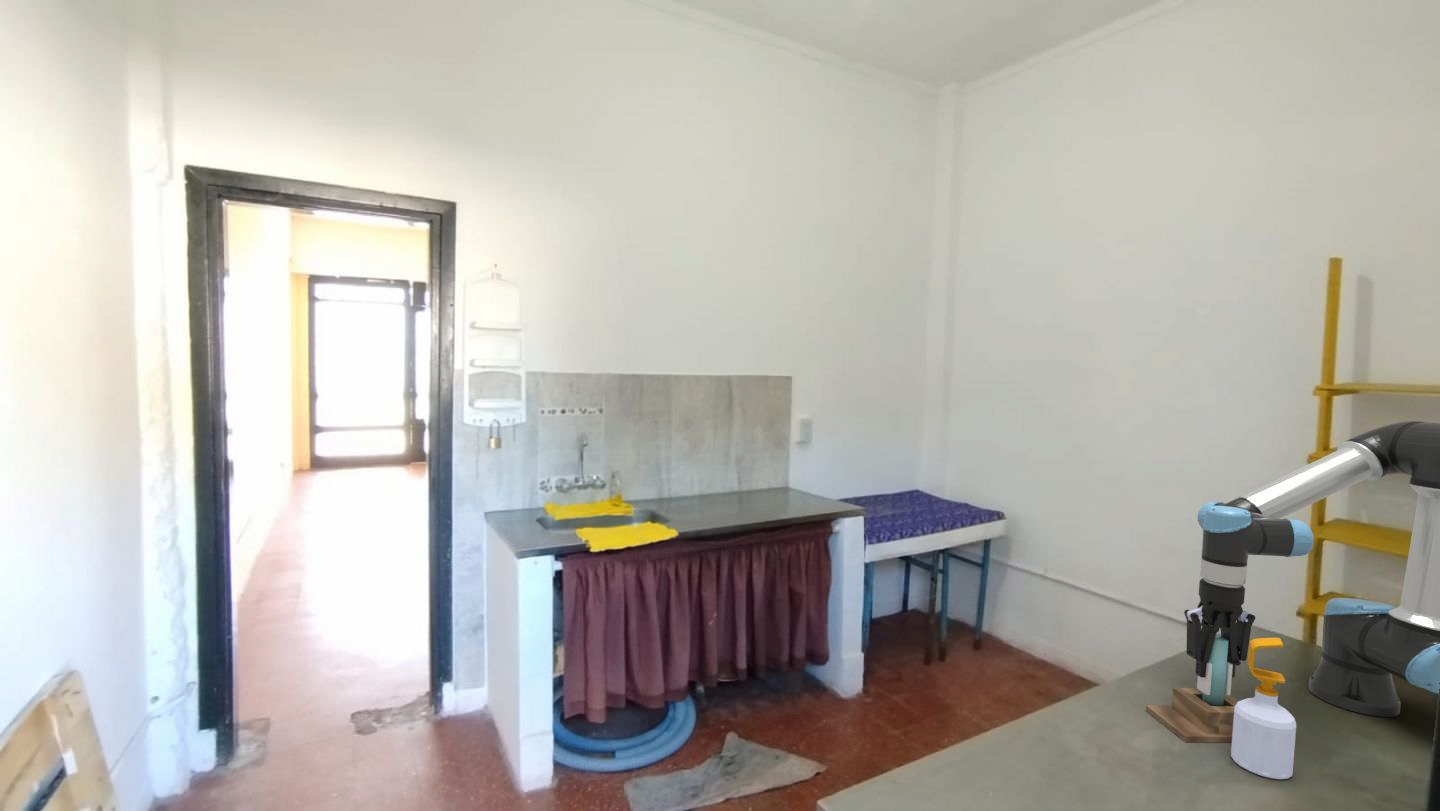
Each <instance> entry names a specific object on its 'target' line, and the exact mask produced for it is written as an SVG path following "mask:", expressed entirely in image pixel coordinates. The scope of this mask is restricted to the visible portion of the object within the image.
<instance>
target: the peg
mask: <svg viewBox="0 0 1440 811" xmlns="http://www.w3.org/2000/svg"><path fill="white" fill-rule="evenodd" d="M1228 642H1229V640H1228V639H1226V638H1224V637H1221V635H1217V634H1216V636H1215V640H1214V644H1213V647H1212V651H1211V655H1210V659H1209V662H1210V663H1211V664H1213V665H1212V678H1211V691H1210V695H1206V694H1205V693H1202V700H1203V701H1204V702H1206V703H1207V704H1209V705H1210V706H1223V704H1224V692H1225V679H1226V667H1227V654H1228Z"/></svg>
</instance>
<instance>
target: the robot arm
mask: <svg viewBox="0 0 1440 811" xmlns="http://www.w3.org/2000/svg"><path fill="white" fill-rule="evenodd" d="M1390 475H1391V476H1392V475H1407V476H1410V480H1409V486H1410V487H1411V488H1412V489H1413V490H1414V491H1415V493H1417V495H1418V496H1417V502H1416V508H1415V514H1414V521H1413V526H1412V533H1411V539H1410V543H1409V544H1410V545H1409V550H1408V556H1407V563H1406V568H1405V573H1404V579H1403V580H1404V581H1403V586H1402V592H1401V597H1400V598H1401V599H1400V604H1399V606H1397V607H1395V605H1391V604H1388V603H1384V602H1381V601H1380V602H1379V601H1374V600H1370V599H1369V600H1368V599H1361V598H1360V599H1359V598H1351V597H1335V598H1334V597H1333V598H1331V599H1329V600H1327V602H1326V605H1325V610H1324V613H1323V626H1322V627H1323V628H1322V645H1321V657H1320V660H1319V662H1318V663H1317V665H1316V667H1315V669H1314V671H1313V674H1312V675H1310V677H1309V680H1308V681H1309V682H1308V691H1309V692H1310V693H1311V694H1312V695H1314V696H1315V697H1317V698H1318V699H1320V700H1322V701H1324V702H1326V703H1328V704H1331V705H1333V706H1336V707H1337V708H1338V707H1339V708H1341V709H1345V710H1348V711H1350V712H1355V713H1359V714H1363V715H1367V716H1374V717H1380V718H1381V717H1384V718H1387V717H1388V718H1390V717H1397V716H1399V715H1400V714H1401V707H1402V706H1401V700H1400V698H1399V696H1398V694H1397V689H1396V686H1395V682H1394V678H1393V676H1396V677H1398V678H1400V679H1402V680H1403V681H1407V682H1408V683H1409V684H1410V685H1413V686H1415V687H1417V688H1422V689H1424V690H1427V691H1429V692H1430V693H1433V694H1438V695H1440V694H1439V689H1440V684H1439V683H1440V422H1428V421H1420V420H1419V421H1417V420H1409V421H1408V420H1407V421H1398V422H1395V423H1390V424H1386V425H1383V426H1380V427H1377V428H1373V429H1371V430H1368V431H1366V432H1363V433H1361V434H1358V435H1356V436H1353V437H1351V438H1349V439H1348V440H1345V441H1343V442H1341V443H1340V444H1339V445H1338V446H1337V448H1336V451H1333V452H1332V453H1330V454H1327V455H1326V456H1323V457H1321V458H1319V459H1316V460H1315V461H1313V462H1310V463H1309V464H1307V465H1303V466H1302V467H1300V468H1298V469H1296V470H1294V471H1291V472H1289V473H1288V474H1286V475H1283V476H1280V477H1279V478H1277V479H1275V480H1272V481H1271V482H1268V483H1266V484H1264V485H1262V486H1260V487H1258V488H1255V489H1254V490H1252V491H1250V492H1247V493H1245V494H1244V495H1241V496H1239V497H1236V498H1235V499H1233V500H1231V501H1228V502H1226V503H1224V502H1223V501H1222V502H1221V501H1210V502H1207V503H1205V504H1203V505H1202V506H1201V507H1200V508H1199V510H1198V513H1197V522H1198V524H1199V526H1200V528H1201V529H1202V546H1201V548H1202V549H1201V559H1200V571H1199V572H1200V575H1199V576H1200V577H1201V578H1200V579H1199V582H1198V583H1199V586H1198V596H1199V599H1200V600H1199V602H1198V604H1197V607H1196V608H1195V609H1192V610H1190V609H1184V612H1183V613H1184V616H1185V619H1186V655H1187V656H1189V657H1190V658H1193V660H1195V670H1194V672H1195V675H1197V682H1196V684H1197V685H1196V688H1197V689H1199V690H1200V691H1202V692H1203V693H1205V694H1206V695H1210V691H1211V678H1212V665H1213V664H1211V663H1210V662H1209V659H1210V655H1211V651H1212V647H1213V644H1214V640H1215V636H1216V635H1217V633H1219V632H1220V636H1221V637H1224V638H1226V639H1228V640H1229V642H1228V654H1227V667H1226V679H1225V692H1224V694H1226V695H1230V696H1231V693H1232V691H1231V690H1232V681H1233V680H1232V679H1234V678H1235V676H1236V667H1237V666H1238V667H1239V666H1241V663H1242V662H1245V661H1246V660H1248V651H1249V643H1250V639H1251V632H1252V631H1251V630H1252V626H1253V625H1254V622H1255V620H1256V616H1255V615H1254V614H1252V613H1250V612H1248V611H1245V610H1243V607H1242V605H1244V603H1245V597H1246V596H1245V594H1246V588H1245V585H1246V583H1247V572H1248V571H1247V569H1248V561H1249V560H1248V558H1249V556H1265V557H1267V556H1268V557H1272V556H1273V557H1285V558H1292V557H1303V556H1306V555H1308V554H1309V553H1311V551H1312V549H1313V547H1314V540H1315V538H1314V537H1315V536H1314V532H1313V531H1312V529H1311V527H1310V526H1309V525H1308V524H1306V522H1303V521H1301V520H1299V519H1291V518H1288V516H1289V515H1291V514H1293V513H1295V512H1297V511H1300V510H1302V509H1304V508H1306V507H1308V506H1310V505H1313V504H1314V503H1317V502H1319V501H1322V500H1323V499H1325V498H1328V497H1330V496H1332V495H1334V494H1336V493H1339V492H1341V491H1343V490H1344V489H1347V488H1348V487H1351V486H1353V485H1355V484H1358V483H1360V482H1362V481H1376V480H1378V479H1380V478H1382V477H1386V476H1390ZM1285 517H1287V518H1285Z"/></svg>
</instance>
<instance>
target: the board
mask: <svg viewBox="0 0 1440 811" xmlns="http://www.w3.org/2000/svg"><path fill="white" fill-rule="evenodd" d="M1202 693H1203V692H1202V691H1200V690H1199V689H1197V687H1190V688H1189V687H1173V688H1172V698H1171V699H1172V700H1171V702H1172V703H1171V705H1149V704H1148V705H1145V712H1147V713H1148V714H1149V715H1150V716H1152V717H1153V718H1154V719H1156V720H1157V721H1158V722H1159V723H1161V724H1162V725H1163V726H1164V727H1165V728H1167V729H1168V730H1169V731H1171V733H1173V734H1175V735H1176V736H1177V737H1178V738H1179V739H1180V740H1182V741H1183V742H1184V743H1216V744H1217V743H1222V744H1224V743H1226V744H1227V743H1229V744H1230V743H1231V744H1232V733H1233V720H1234V708H1235V705H1236V704H1237V702H1239V701H1240V700H1238V699H1236V698H1234V697H1233V696H1231V694H1230V695H1226V694H1224V704H1223V706H1210V705H1209V704H1207V703H1206V702H1204V701H1203V700H1202Z"/></svg>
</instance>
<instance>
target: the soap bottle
mask: <svg viewBox="0 0 1440 811" xmlns="http://www.w3.org/2000/svg"><path fill="white" fill-rule="evenodd" d="M1282 647H1284V643H1283V641H1282V639H1281V638H1280V637H1261V638H1260V637H1259V638H1258V637H1257V638H1253V639H1251V640H1249V646H1248V653H1247V666H1248V667H1249V670H1250V673H1251V675H1252V676H1253V677H1255V678H1257V679H1258V681H1260V682H1261V685H1260V684H1259V685H1255V689H1254V696H1252V697H1247V698H1245V699H1241V700H1238V701H1239V702H1237V704H1236V705H1235V708H1234V720H1233V733H1232V743H1231V746H1230V747H1231V749H1230V757H1231V758H1232V759H1233V762H1235V764H1238V766H1240V767H1241V768H1243V769H1245V770H1246V771H1249V772H1251V773H1253V774H1255V775H1258V776H1261V777H1265V778H1269V779H1273V780H1287V779H1290V778H1291V777H1292V776H1293V773H1294V772H1293V771H1294V770H1293V769H1294V762H1295V760H1294V759H1295V746H1296V733H1297V722H1296V718H1295V717H1294V716H1293V714H1291V713H1290V712H1289V711H1288V710H1287V709H1286V708H1285V707H1283V706H1281V705H1280V704H1279V701H1278V699H1279V691H1278V690H1277V689H1275V688H1274V685H1278V684H1277V683H1280V684H1285V683H1286V680H1285V677H1284V675H1283V674H1282V673H1279V672H1275V671H1272V670H1271V671H1270V670H1266V669H1262V668H1257V667H1254V664H1255V663H1254V662H1255V654H1256V651H1257V650H1259V649H1268V648H1269V649H1270V648H1282Z"/></svg>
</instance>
